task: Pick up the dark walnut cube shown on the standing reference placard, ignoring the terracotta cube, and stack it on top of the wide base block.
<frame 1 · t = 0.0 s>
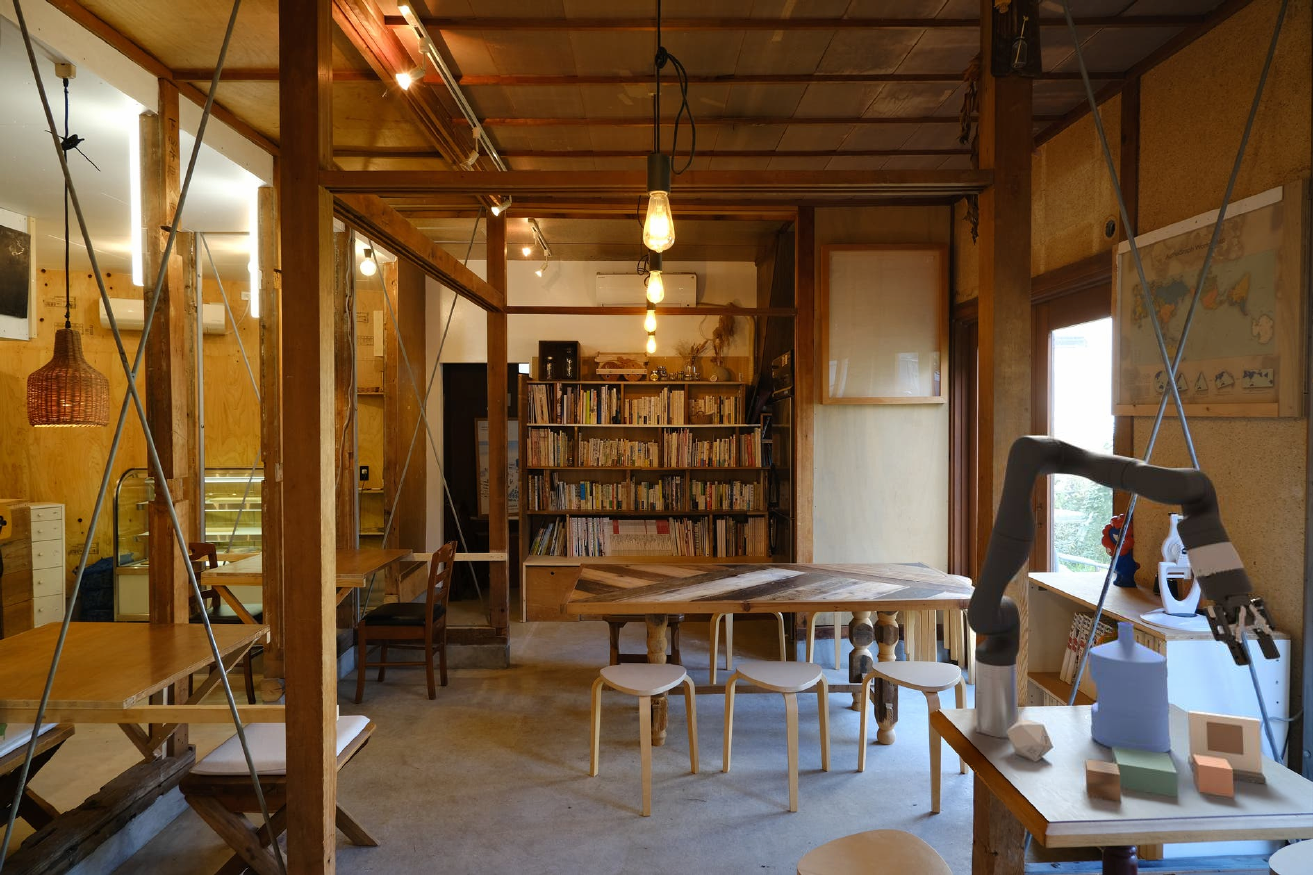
hand: (1259, 661, 125), 31 cm above the table, tool tilted 20°, fingers open, 8 cm apart
terracotta block: (1213, 788, 144), on the table
walnut block: (1103, 794, 143), on the table
reference placard: (1225, 772, 152), on the table
base block: (1144, 782, 148), on the table
die: (1030, 756, 161), on the table
water jug: (1130, 743, 168), on the table
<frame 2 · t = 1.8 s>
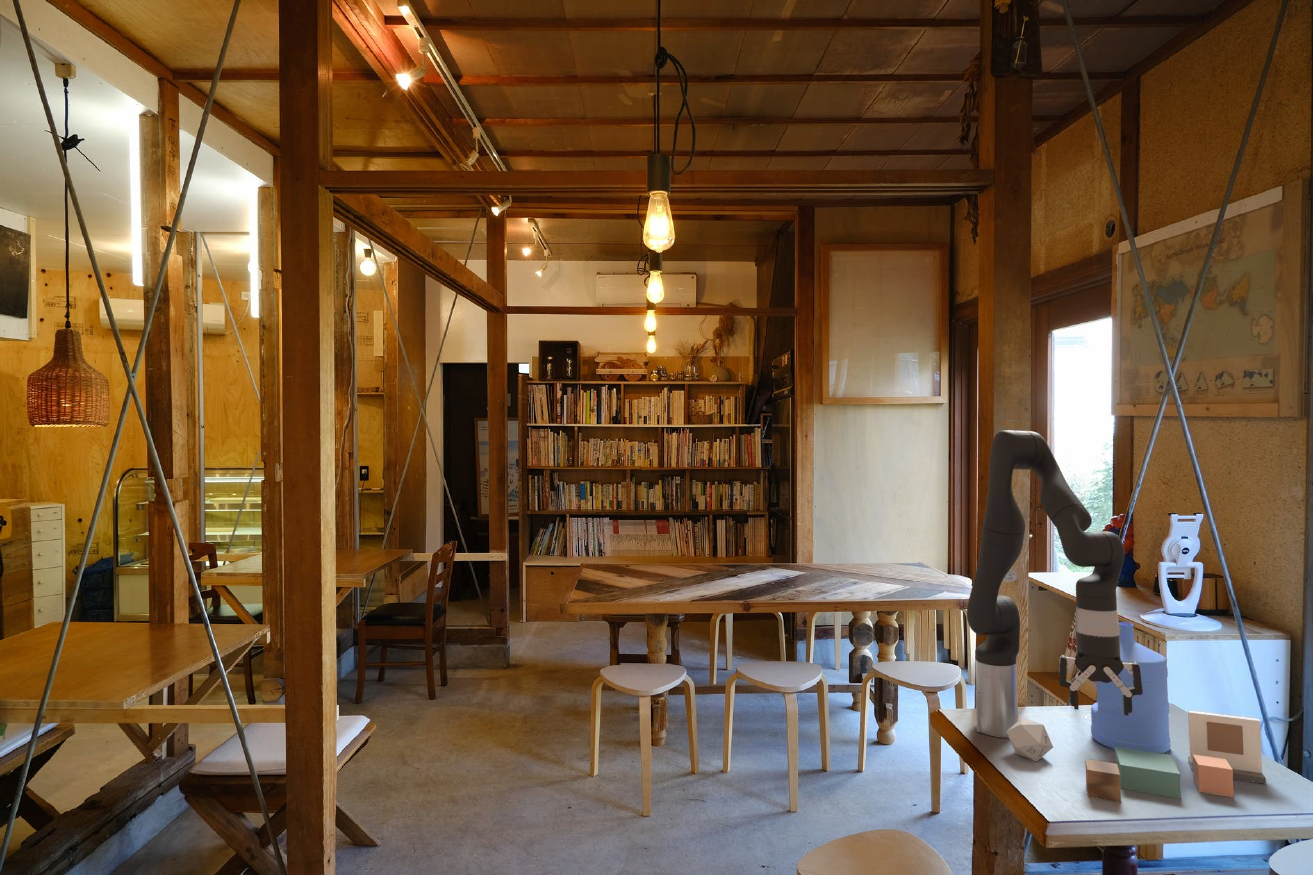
hand: (1100, 711, 144), 16 cm above the table, tool pointing down, fingers open, 8 cm apart
nothing on the table moved.
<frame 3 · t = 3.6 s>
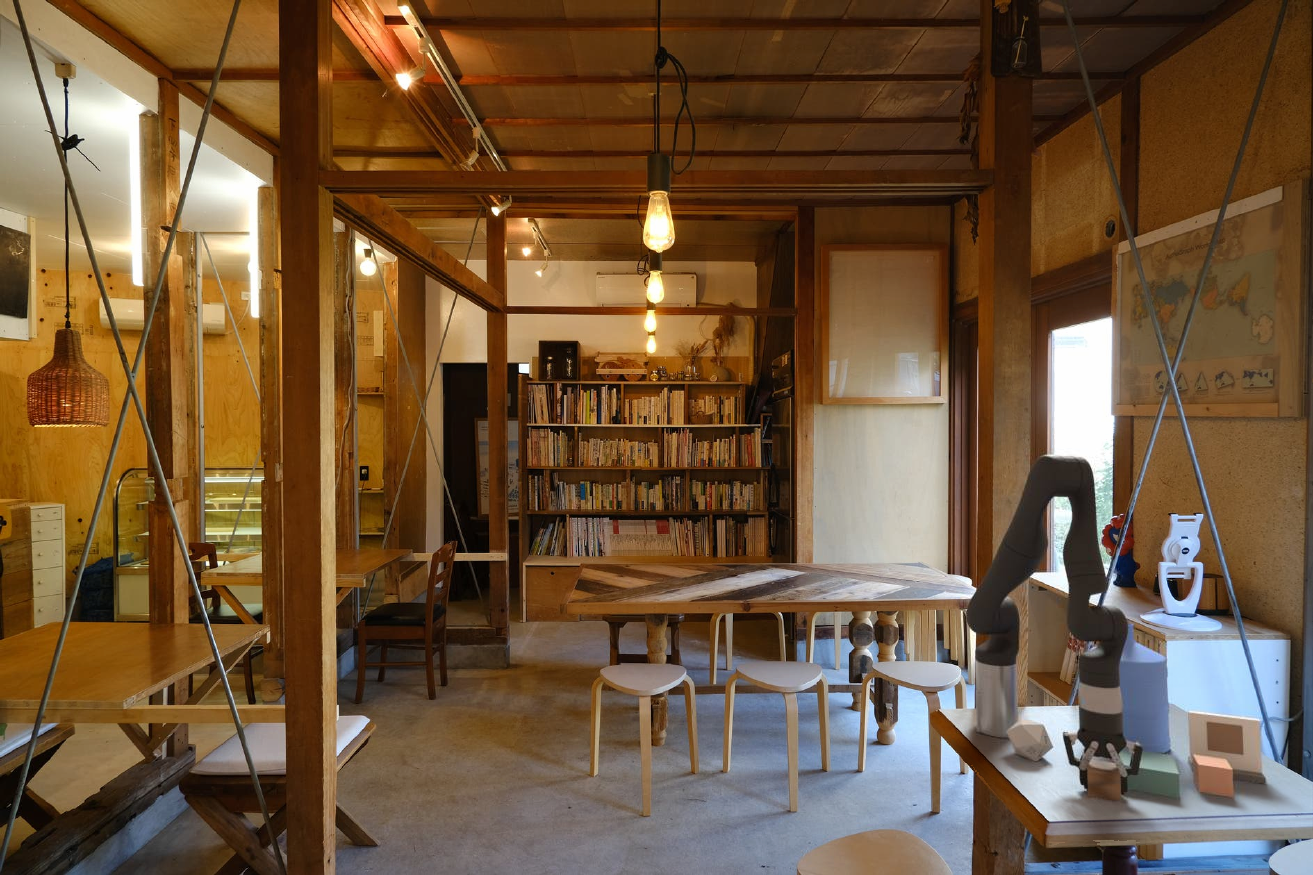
hand: (1103, 789, 143), 1 cm above the table, tool pointing down, fingers closed on walnut block, 5 cm apart
walnut block: (1103, 793, 143), on the table, touching gripper
everything else where it was.
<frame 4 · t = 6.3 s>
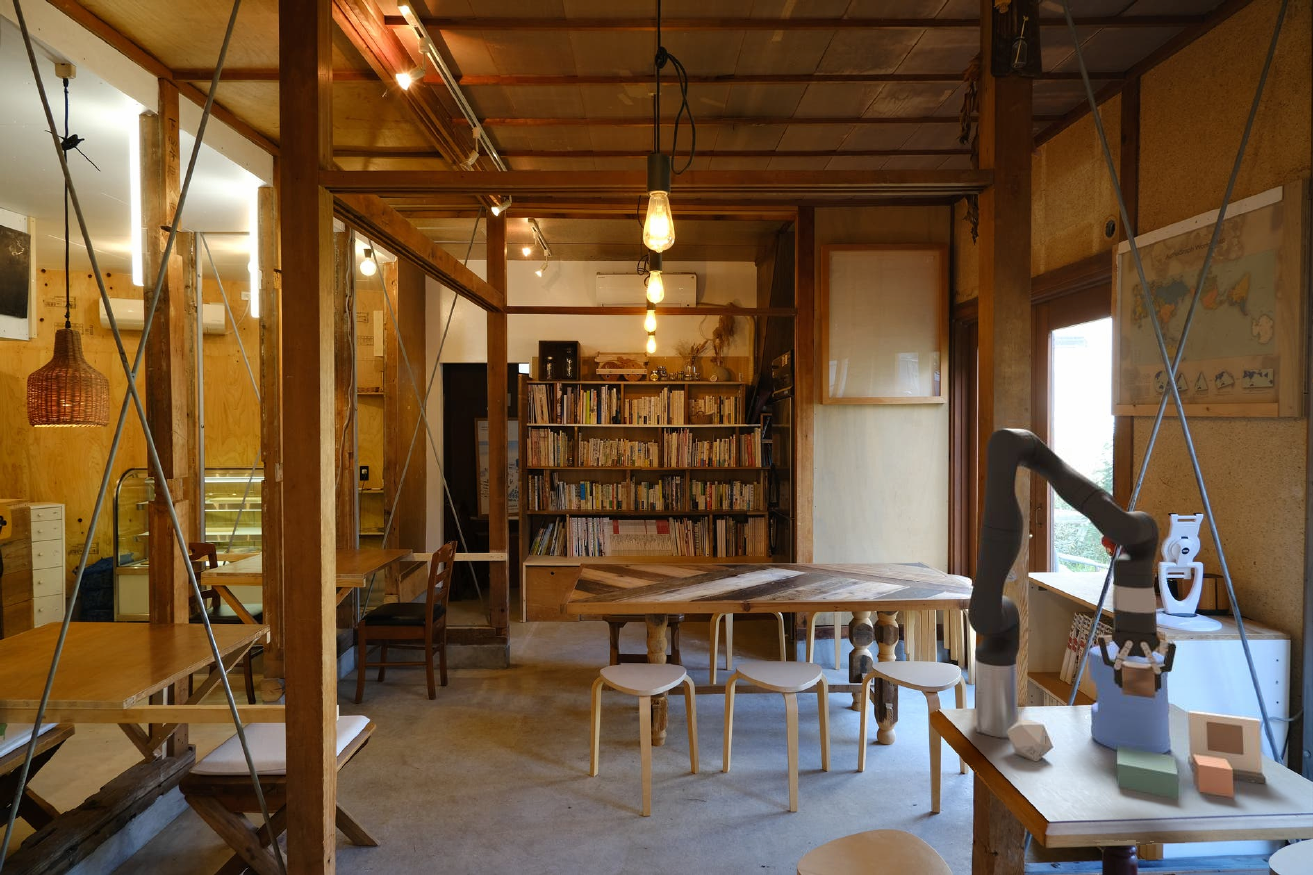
hand: (1137, 688, 148), 19 cm above the table, tool pointing down, fingers closed on walnut block, 5 cm apart
walnut block: (1137, 692, 148), point 19 cm above the table, touching gripper
everything else where it was.
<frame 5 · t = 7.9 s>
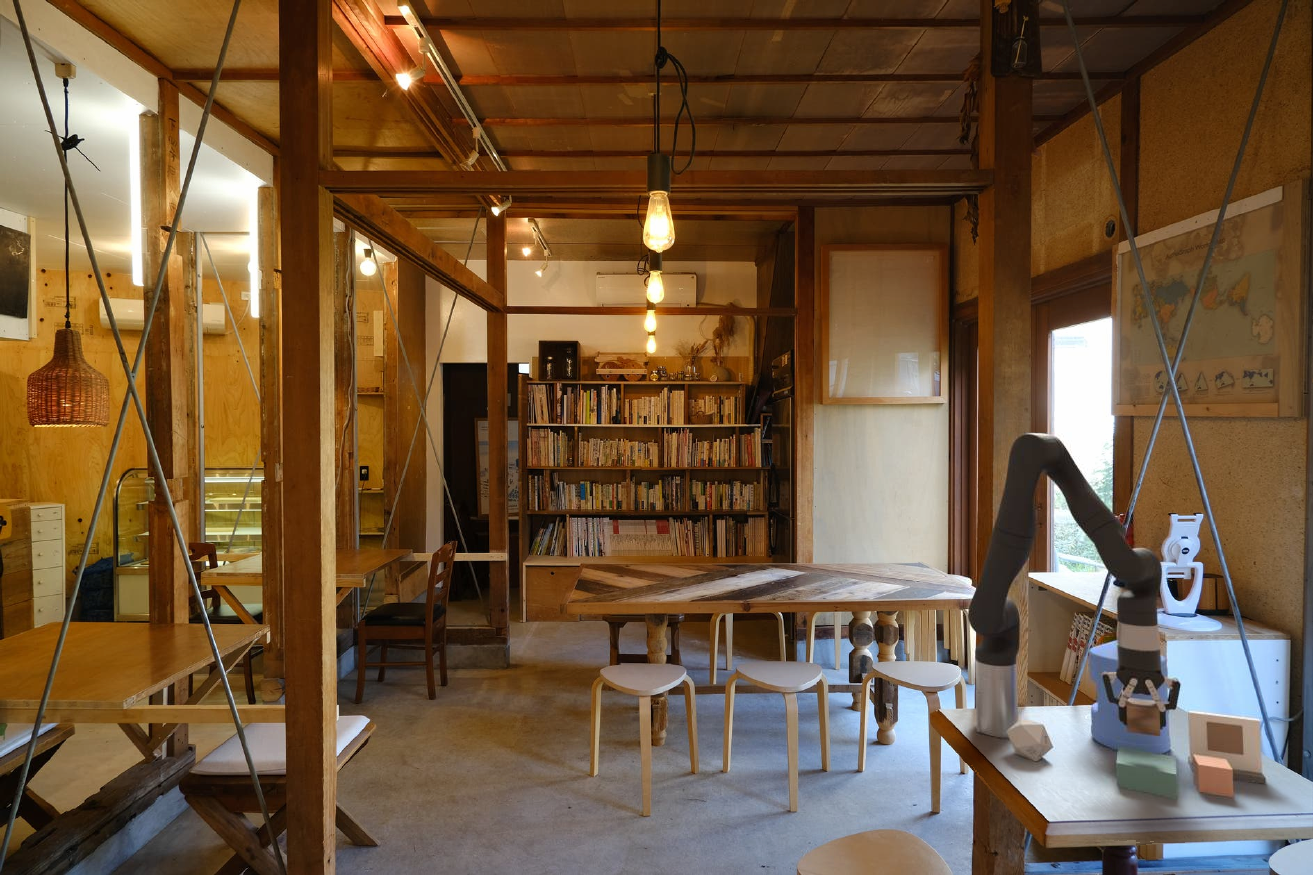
hand: (1142, 725, 149), 11 cm above the table, tool pointing down, fingers closed on walnut block, 5 cm apart
walnut block: (1142, 729, 148), point 11 cm above the table, touching gripper
everything else where it was.
when the fingers open (7 cm above the table, at t = 9.2 s): walnut block drops 2 cm, point 5 cm above the table.
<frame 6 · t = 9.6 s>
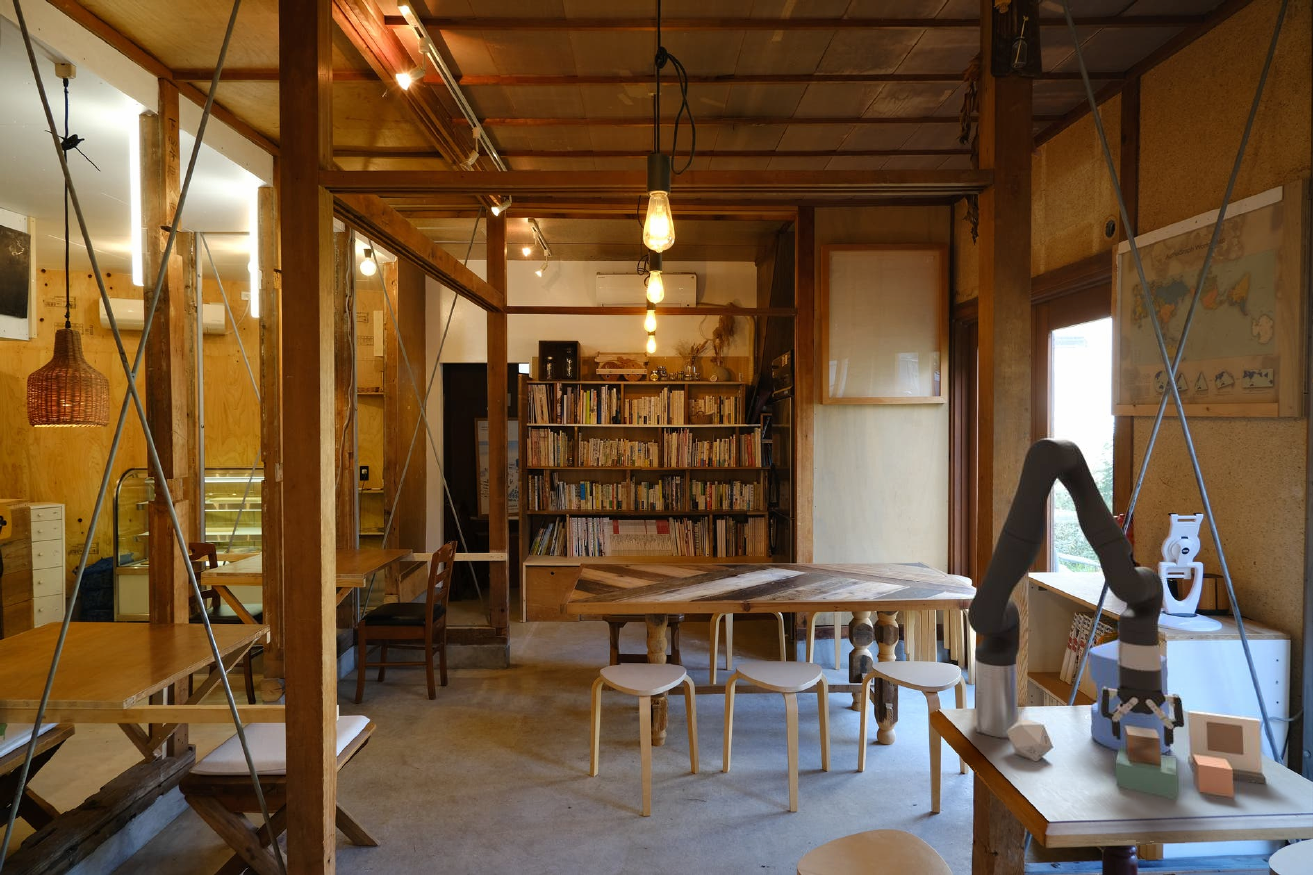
hand: (1142, 741, 148), 8 cm above the table, tool pointing down, fingers open, 8 cm apart
walnut block: (1143, 758, 148), point 5 cm above the table
everything else where it was.
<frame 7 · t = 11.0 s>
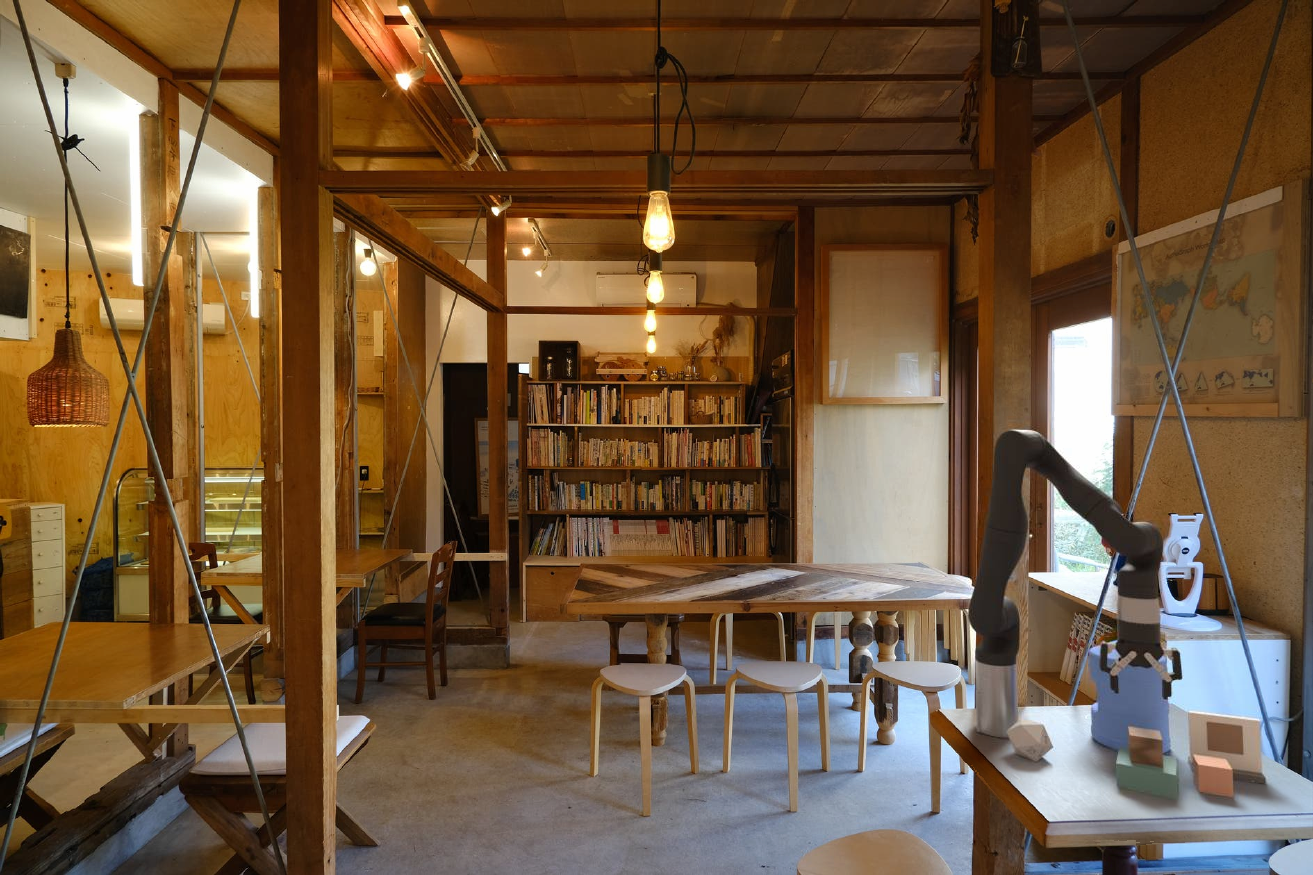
hand: (1140, 695, 149), 18 cm above the table, tool pointing down, fingers open, 8 cm apart
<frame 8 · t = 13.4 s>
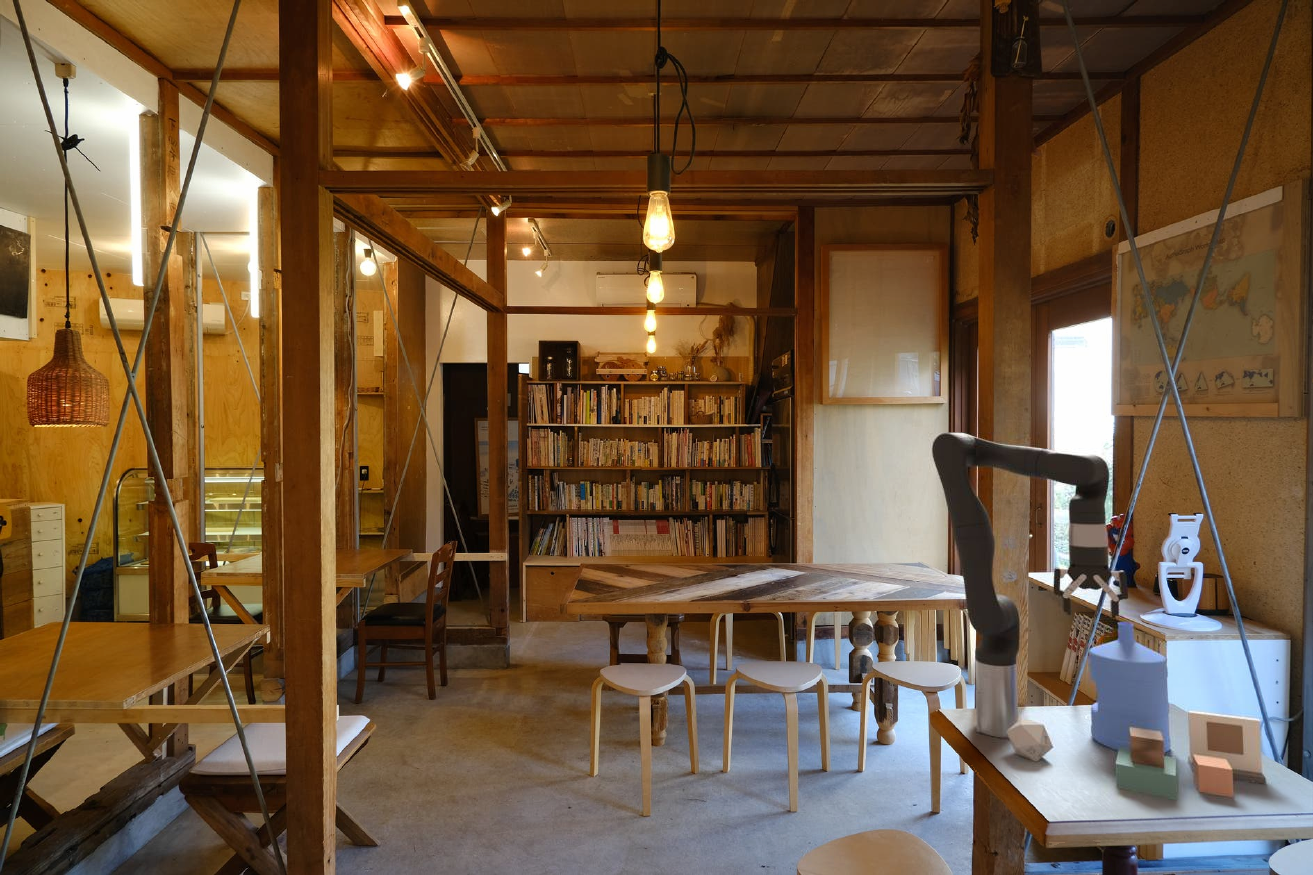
hand: (1090, 616, 159), 32 cm above the table, tool pointing down, fingers open, 8 cm apart
walnut block: (1146, 760, 147), point 5 cm above the table, touching base block
base block: (1147, 785, 147), on the table, touching walnut block
everything else where it was.
at the end: walnut block inside the target area on the base block (0.4 cm from its centre), point 5.0 cm above the base block's base; walnut block tilted 0°; terracotta block moved 0.1 cm from its start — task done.
